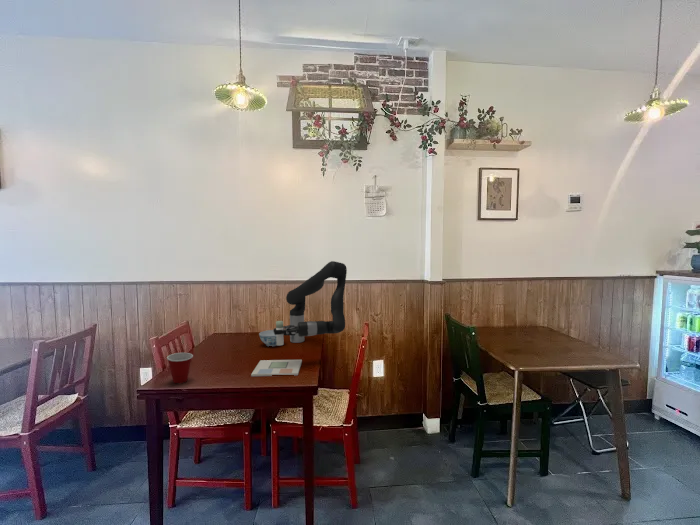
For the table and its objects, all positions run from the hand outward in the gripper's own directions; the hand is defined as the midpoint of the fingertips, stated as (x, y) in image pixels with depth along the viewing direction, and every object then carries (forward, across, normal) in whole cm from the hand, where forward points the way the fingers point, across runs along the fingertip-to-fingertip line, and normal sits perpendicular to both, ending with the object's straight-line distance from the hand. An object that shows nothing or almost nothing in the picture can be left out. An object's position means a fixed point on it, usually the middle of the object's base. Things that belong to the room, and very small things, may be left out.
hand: (274, 331), depth 177 cm
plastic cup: (+43, +6, +18) cm, 47 cm away
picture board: (-1, +4, +18) cm, 18 cm away
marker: (-3, 0, +7) cm, 8 cm away
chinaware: (-2, -40, +18) cm, 44 cm away
